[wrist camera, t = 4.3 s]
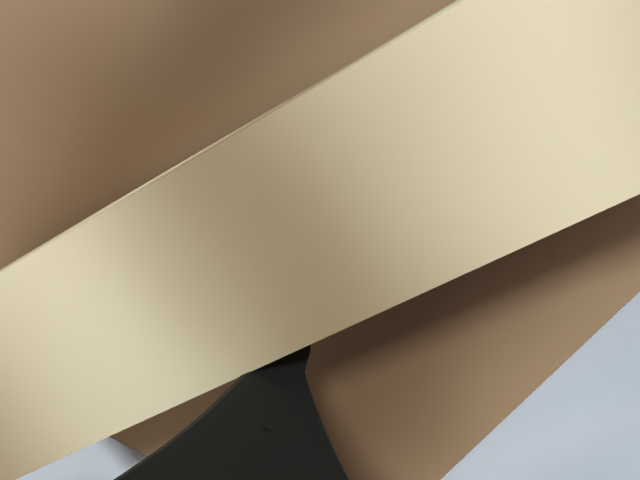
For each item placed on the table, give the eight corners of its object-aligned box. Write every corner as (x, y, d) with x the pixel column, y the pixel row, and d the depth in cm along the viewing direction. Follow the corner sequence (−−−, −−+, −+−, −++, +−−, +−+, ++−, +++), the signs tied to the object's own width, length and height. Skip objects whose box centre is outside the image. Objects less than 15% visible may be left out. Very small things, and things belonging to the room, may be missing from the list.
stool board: (943, -64, 8) (1044, -84, 7) (350, 523, 14) (351, 567, 13) (-17, -1060, 6) (-118, -1374, 4) (-274, 185, 11) (-349, 200, 10)
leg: (694, -141, 7) (1046, -339, 4) (743, 50, 8) (1065, 45, 4) (-18, 278, 10) (-211, 397, 7) (73, 383, 11) (-55, 538, 7)
